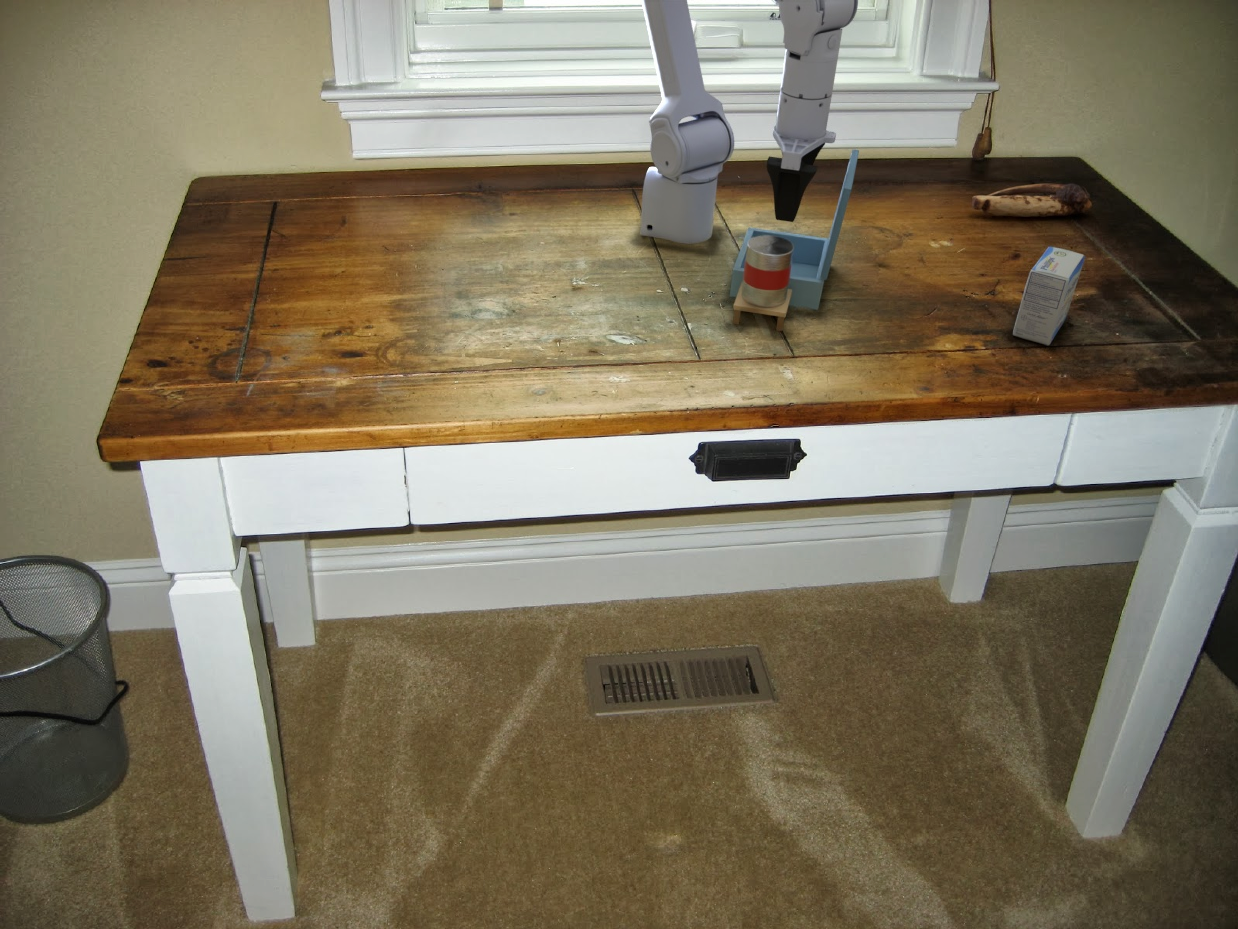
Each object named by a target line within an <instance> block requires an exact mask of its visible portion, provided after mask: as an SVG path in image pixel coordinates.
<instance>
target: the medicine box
mask: <svg viewBox="0 0 1238 929" xmlns="http://www.w3.org/2000/svg"><path fill="white" fill-rule="evenodd" d="M1085 258H1086V256H1085V255H1084V254H1082V253H1079V252H1075V251H1072V250H1068V249H1065V248H1060V247H1054V246H1048V247H1047V248H1046V250H1045V251H1044V253H1043V254H1042V255H1041V256H1040V258H1039V259H1038V260H1037V262H1036V263H1035V265H1033V267H1032V268H1031V269H1030V271H1029V273H1028V276H1027V280H1026V283H1025V287H1024V290H1023V294H1022V298H1021V301H1020V305H1019V309H1018V313H1017V314H1016V315H1017V316H1016V318H1015V323H1014V327H1013V331H1012V336H1014V337H1017V338H1020V339H1023V340H1027V341H1031V342H1034V343H1038V344H1040V345H1044V346H1047V347H1049V346H1050V345H1051V343H1052V342H1053V341H1054V339H1055V337H1056V336H1057V334H1058V332H1059V331H1060V330H1061V328H1062V326H1063V325H1064V322H1065V320H1066V319H1067V317H1068V314H1069V310H1070V307H1071V305H1072V304H1071V303H1072V302H1073V301H1072V300H1073V297H1074V294H1075V291H1076V287H1077V284H1078V281H1079V278H1080V274H1081V272H1082V269H1083V266H1084V262H1085Z"/></svg>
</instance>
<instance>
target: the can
mask: <svg viewBox="0 0 1238 929" xmlns="http://www.w3.org/2000/svg"><path fill="white" fill-rule="evenodd" d="M793 252H794V246H793V244H792V243H791V242H790V241H788V240H786V239H784V238H781V237H777V236H770V235H763V236H756V237H753V238H751V239H750V240H749V241H748V244H747V252H746V259H745V267H744V275H743V284H742V293H741V296H742V298H743V299H744V300H745V301H746V302H747V303H749V304H752V305H754V306H758V307H777V306H780V305H782V304H784V303H785V301H786V298H787V292H788V285H789V280H790V273H791V266H792V258H793Z"/></svg>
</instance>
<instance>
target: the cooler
mask: <svg viewBox="0 0 1238 929" xmlns="http://www.w3.org/2000/svg"><path fill="white" fill-rule="evenodd" d="M763 235H770V236H777V237H781V238H784V239H786V240H788V241H790V242H791V243H792V244H793V246H794V252H793V258H792V266H791V273H790V280H789V285H788V289H791V290H792V295H791V298H790V302H789V306H788V307H794V308H795V307H796V308H803V309H809V310H816V311H818V310H819V307H820V301H821V298H822V292H823V288H824V283H825V280H824V279H820V275H821V271H822V267H823V262H824V258H825V253H826V249H827V244H828V240H829V237H827V238H826V237H819V236H813V235H807V234H806V235H805V234H799V233H792V232H784V231H777V230H772V229H771V230H770V229H764V228H756V227H751V226H750V227H749V226H748V227H747V231H746V233H745V236H744V238H743V241H742V244H741V247H740V249H739V252H738V254H737V257H736V259H735V261H734V265H733V268H732V272H731V273H732V274H731V280H730V283H731V284H730V290H729V297H730V298H731V297H732V298H736V297H737V294H738V291H739V289H740V286H741V283H742V282H743V275H744V267H745V259H746V252H747V244H748V241H749V240H750V239H751V238H753V237H756V236H763Z"/></svg>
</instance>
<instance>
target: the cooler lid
mask: <svg viewBox="0 0 1238 929" xmlns="http://www.w3.org/2000/svg"><path fill="white" fill-rule="evenodd" d="M859 154H860V150H859V149H855V148H853V149H851V154H850V157H849V160H848V165H847V169H846V172H845V176H844V179H843V184H842V187H841V191H840V194H839V198H838V201H837V206H836V210H835V212H834V218H833V221H832V225H831V228H830V232H829V236H828V239H829V240H828V244H827V249H826V253H825V258H824V262H823V267H822V271H821V275H820V279H824V281H827V280H828V276H829V272H830V269H831V266H832V265H831V264H832V262H833V258H834V255H835V252H836V247H837V244H838V240H839V237H840V232H841V229H842V226H843V222H844V218H845V215H846V210H847V207H848V205H849V204H848V203H849V200H850V197H851V192H852V189H853V183H854V179H855V174H856V170H857V169H856V168H857V163H858V158H859Z"/></svg>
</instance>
